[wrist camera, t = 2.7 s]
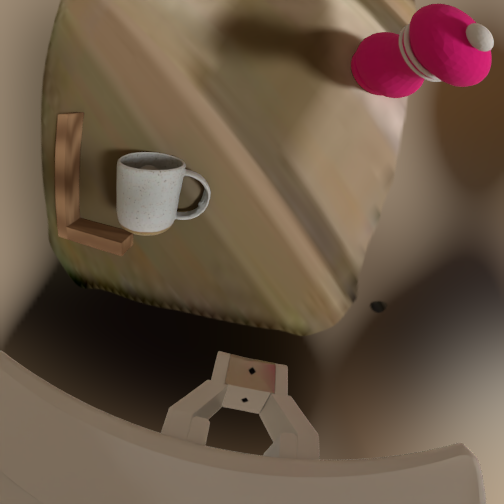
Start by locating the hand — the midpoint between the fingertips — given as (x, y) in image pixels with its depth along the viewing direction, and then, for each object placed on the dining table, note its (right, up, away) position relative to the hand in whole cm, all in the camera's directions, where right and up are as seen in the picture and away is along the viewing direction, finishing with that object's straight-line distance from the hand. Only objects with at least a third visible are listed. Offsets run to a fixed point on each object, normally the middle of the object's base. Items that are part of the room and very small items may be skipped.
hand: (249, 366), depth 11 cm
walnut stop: (-21, +15, +21) cm, 33 cm away
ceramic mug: (-10, +13, +21) cm, 27 cm away
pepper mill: (+14, +25, +12) cm, 32 cm away
